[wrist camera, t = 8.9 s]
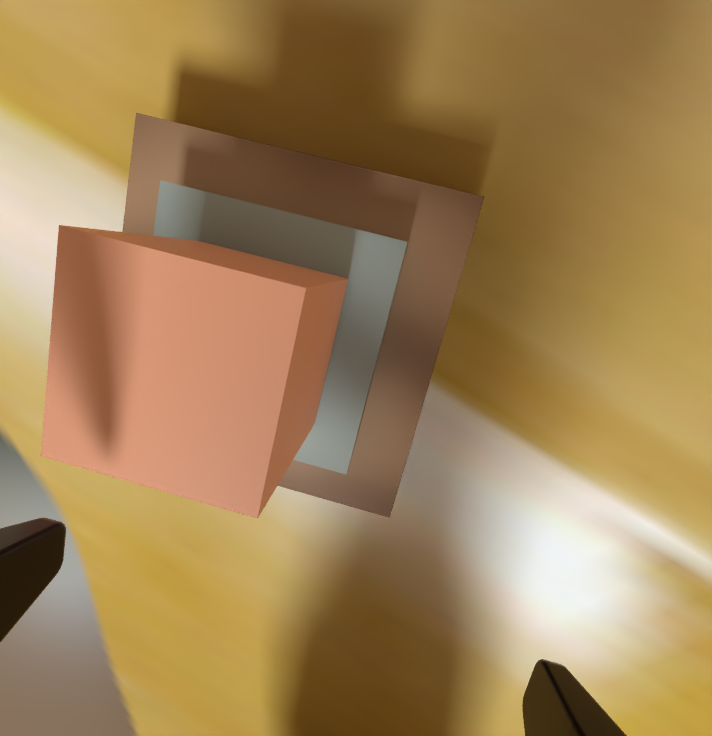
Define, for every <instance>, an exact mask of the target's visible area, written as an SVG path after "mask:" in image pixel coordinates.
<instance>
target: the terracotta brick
mask: <svg viewBox="0 0 712 736" xmlns="http://www.w3.org/2000/svg"><path fill="white" fill-rule="evenodd" d="M347 283H348V278H344V277H340V276H336V275H332V274H328V273H324V272H320V271H316V270H312V269H308V268H304V267H300V266H296V265H292V264H288V263H284V262H280V261H276V260H272V259H268V258H264V257H260V256H256V255H252V254H248V253H244V252H240V251H237V250H233V249H229V248H225V247H221V246H217V245H213V244H209V243H205V242H201V241H195V240H187V239H178V238H169V237H160V236H151V235H142V234H133V233H124V232H115V231H106V230H97V229H89V228H80V227H71V226H62V225H59V232H58V245H57V258H56V271H55V284H54V297H53V309H52V322H51V335H50V348H49V361H48V374H47V386H46V399H45V412H44V425H43V438H42V451H41V456H42V457H46V458H49V459H53V460H56V461H60V462H63V463H67V464H70V465H74V466H77V467H81V468H84V469H88V470H91V471H94V472H98V473H101V474H105V475H108V476H112V477H115V478H119V479H122V480H126V481H129V482H133V483H136V484H140V485H143V486H147V487H150V488H154V489H157V490H161V491H164V492H168V493H171V494H174V495H178V496H181V497H185V498H188V499H192V500H195V501H199V502H202V503H206V504H209V505H213V506H216V507H220V508H223V509H227V510H230V511H234V512H237V513H241V514H244V515H248V516H251V517H254V518H258V517H259V515H260V513H261V512H262V510H263V508H264V507H265V505H266V503H267V502H268V500H269V499H270V497H271V495H272V494H273V492H274V490H275V489H276V487H277V485H278V484H279V482H280V480H281V479H282V477H283V475H284V474H285V472H286V471H287V469H288V467H289V466H290V464H291V462H292V461H293V459H294V457H295V456H296V454H297V452H298V451H299V449H300V447H301V446H302V444H303V443H304V441H305V439H306V438H307V436H308V434H309V433H310V431H311V429H312V428H313V426H314V424H315V421H316V416H317V412H318V408H319V403H320V399H321V395H322V390H323V386H324V382H325V378H326V373H327V369H328V365H329V360H330V356H331V352H332V347H333V343H334V339H335V335H336V330H337V326H338V322H339V317H340V313H341V309H342V304H343V300H344V296H345V292H346V287H347Z"/></svg>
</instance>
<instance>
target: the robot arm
mask: <svg viewBox="0 0 712 736" xmlns="http://www.w3.org/2000/svg"><path fill="white" fill-rule="evenodd" d="M65 536H66V527H65V525H64V524H63V523H62V522H59V521H55V520H52V519H48V518H39V519H35V520H31V521H27V522H24V523H20V524H16V525H12V526H9V527H4V528H1V529H0V642H1V641H2V640H3V639H4V637H5V636H6V635H7V634H8V633H9V631H10V630H11V629H12V628H13V627H14V625H15V624H16V623H17V622H18V621H19V619H20V618H21V617H22V616H23V615H24V613H25V612H26V611H27V610H28V608H29V607H30V606H31V605H32V603H33V602H34V601H35V600H36V599H37V598H38V596H39V595H40V594H41V593H42V591H43V590H44V589H45V588H46V586H47V585H48V584H49V583H50V582H51V581H52V579H53V578H54V577H55V576H56V574H57V573H58V571H59V569H60V568H61V565H62V562H63V556H64V546H65ZM523 719H524V728H525V736H626V734H625V733H624V732H623V731H622V730H621V729H620V728H619V727H618V726H617V724H616V723H615V722H614V721H613V720H612V719H611V718H610V717H609V715H608V714H607V713H606V712H605V711H604V710H603V709H602V708H601V706H600V705H599V704H598V703H597V702H596V701H595V700H594V699H593V697H592V696H591V695H590V694H589V693H588V692H587V691H586V690H585V689H584V687H583V686H582V685H581V684H580V683H579V682H578V681H577V680H576V678H575V677H574V676H573V675H572V674H571V673H570V672H569V671H568V669H567V668H566V667H565V666H563V665H561V664H558V663H555V662H551V661H548V660H544V659H541V660H539V661H538V662H537V663H536V665H535V667H534V670H533V672H532V675H531V678H530V680H529V683H528V686H527V688H526V691H525V694H524V697H523Z"/></svg>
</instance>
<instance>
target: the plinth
mask: <svg viewBox="0 0 712 736" xmlns="http://www.w3.org/2000/svg"><path fill="white" fill-rule="evenodd" d="M483 199H484V196H479V195H475V194H471V193H467V192H463V191H459V190H454V189H450V188H446V187H442V186H438V185H434V184H430V183H425V182H421V181H417V180H413V179H409V178H405V177H401V176H396V175H392V174H388V173H384V172H380V171H376V170H372V169H367V168H363V167H359V166H355V165H351V164H347V163H343V162H338V161H334V160H330V159H326V158H322V157H318V156H313V155H309V154H305V153H301V152H297V151H293V150H289V149H284V148H280V147H276V146H272V145H268V144H264V143H260V142H255V141H251V140H247V139H243V138H239V137H235V136H231V135H226V134H222V133H218V132H214V131H210V130H206V129H202V128H197V127H193V126H189V125H185V124H181V123H177V122H172V121H168V120H164V119H160V118H156V117H152V116H148V115H143V114H139V113H136V119H135V128H134V137H133V145H132V154H131V163H130V172H129V180H128V189H127V198H126V207H125V215H124V224H123V232H124V233H133V234H142V235H151V236H160V237H169V238H178V239H187V240H195V241H201V242H205V243H209V244H213V245H217V246H221V247H225V248H229V249H233V250H237V251H240V252H244V253H248V254H252V255H256V256H260V257H264V258H268V259H272V260H276V261H280V262H284V263H288V264H292V265H296V266H300V267H304V268H308V269H312V270H316V271H320V272H324V273H328V274H332V275H336V276H340V277H344V278H348V283H347V287H346V292H345V296H344V300H343V304H342V309H341V313H340V317H339V322H338V326H337V330H336V335H335V339H334V343H333V347H332V352H331V356H330V360H329V365H328V369H327V373H326V378H325V382H324V386H323V390H322V395H321V399H320V403H319V408H318V412H317V416H316V421H315V424H314V426H313V428H312V429H311V431H310V433H309V434H308V436H307V438H306V439H305V441H304V443H303V444H302V446H301V447H300V449H299V451H298V452H297V454H296V456H295V457H294V459H293V461H292V462H291V464H290V466H289V467H288V469H287V471H286V472H285V474H284V475H283V477H282V479H281V480H280V482H279V484H278V486H281V487H285V488H288V489H291V490H295V491H298V492H302V493H305V494H309V495H312V496H316V497H319V498H323V499H326V500H330V501H333V502H337V503H340V504H344V505H347V506H351V507H354V508H358V509H361V510H365V511H368V512H372V513H375V514H379V515H382V516H386V517H389V518H390V514H391V511H392V508H393V504H394V501H395V497H396V494H397V491H398V487H399V484H400V480H401V477H402V474H403V470H404V467H405V464H406V460H407V457H408V453H409V450H410V447H411V443H412V440H413V436H414V433H415V430H416V426H417V423H418V420H419V416H420V413H421V409H422V406H423V403H424V399H425V396H426V392H427V389H428V386H429V382H430V379H431V375H432V372H433V369H434V365H435V362H436V359H437V355H438V352H439V348H440V345H441V342H442V338H443V335H444V331H445V328H446V325H447V321H448V318H449V315H450V311H451V308H452V304H453V301H454V298H455V294H456V291H457V287H458V284H459V281H460V277H461V274H462V271H463V267H464V264H465V260H466V257H467V254H468V250H469V247H470V243H471V240H472V237H473V233H474V230H475V227H476V223H477V220H478V216H479V213H480V210H481V206H482V203H483Z"/></svg>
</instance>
